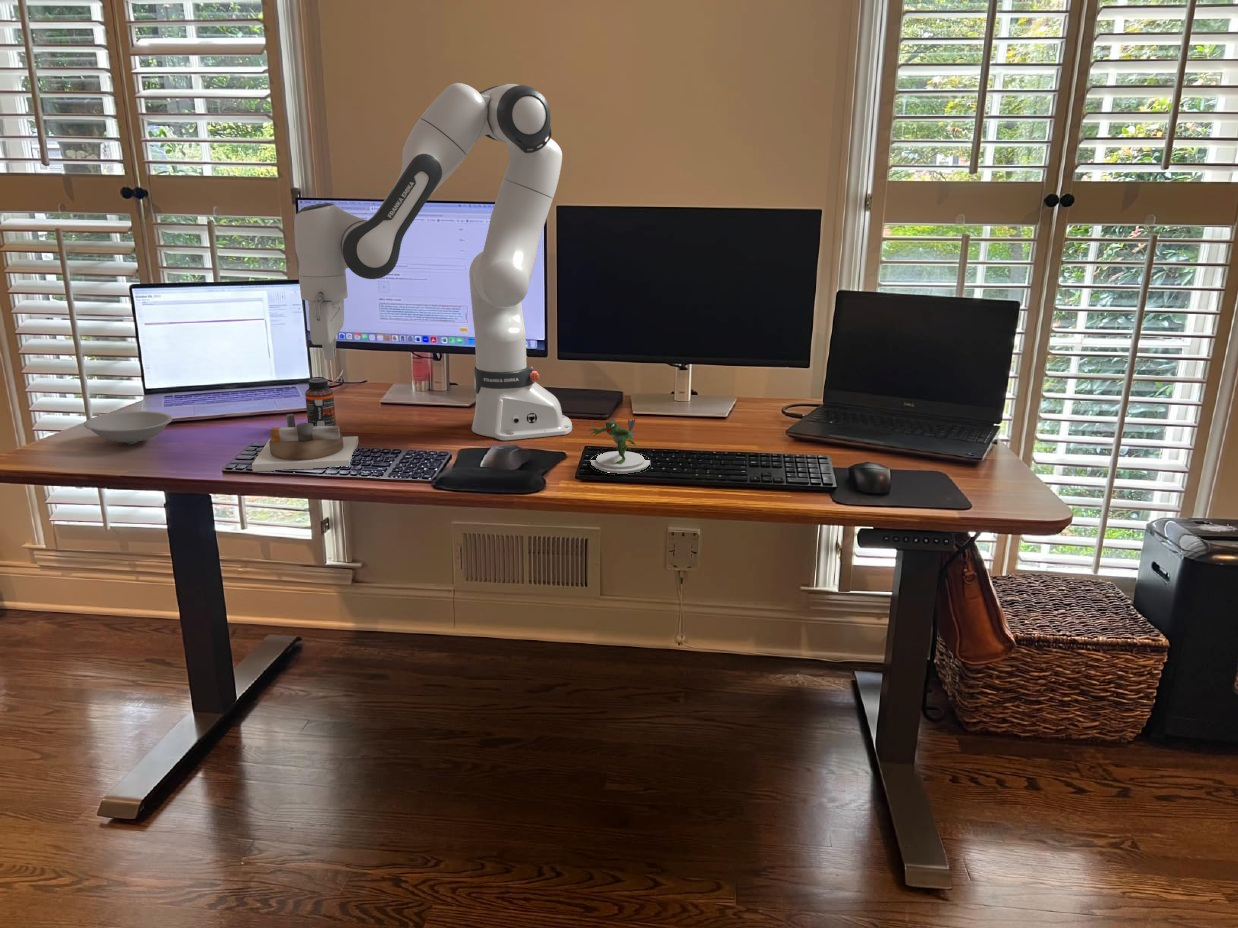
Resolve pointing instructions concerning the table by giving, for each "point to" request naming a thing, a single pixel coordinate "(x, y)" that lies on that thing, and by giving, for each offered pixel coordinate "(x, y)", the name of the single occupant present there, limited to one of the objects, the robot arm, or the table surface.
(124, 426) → the dish
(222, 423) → the table surface
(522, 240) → the robot arm
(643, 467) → the monster figurine
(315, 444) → the dial
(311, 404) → the supplement bottle
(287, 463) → the dial base
